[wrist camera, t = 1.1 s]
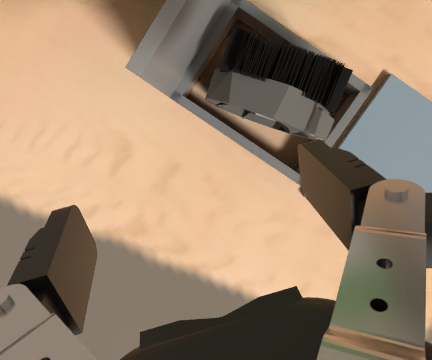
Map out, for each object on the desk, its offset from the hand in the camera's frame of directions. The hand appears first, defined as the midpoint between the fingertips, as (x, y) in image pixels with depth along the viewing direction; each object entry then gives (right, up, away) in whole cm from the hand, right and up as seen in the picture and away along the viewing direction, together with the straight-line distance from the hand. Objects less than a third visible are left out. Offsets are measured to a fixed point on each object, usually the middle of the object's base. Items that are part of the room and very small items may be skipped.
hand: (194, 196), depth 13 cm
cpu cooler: (+6, +9, +22) cm, 24 cm away
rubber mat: (+18, +2, +22) cm, 29 cm away
